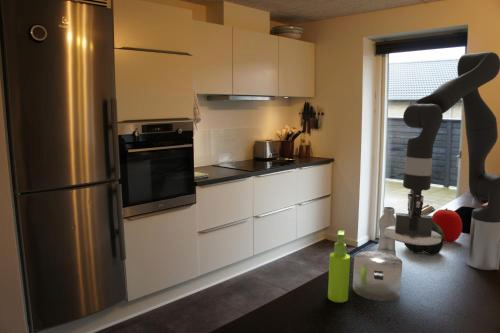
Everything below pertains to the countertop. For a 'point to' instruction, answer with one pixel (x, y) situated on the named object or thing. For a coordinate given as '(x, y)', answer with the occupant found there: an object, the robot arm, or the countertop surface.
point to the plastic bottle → (384, 222)
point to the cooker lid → (413, 237)
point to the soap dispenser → (339, 271)
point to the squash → (428, 248)
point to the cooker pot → (377, 275)
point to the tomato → (448, 224)
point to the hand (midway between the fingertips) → (412, 228)
